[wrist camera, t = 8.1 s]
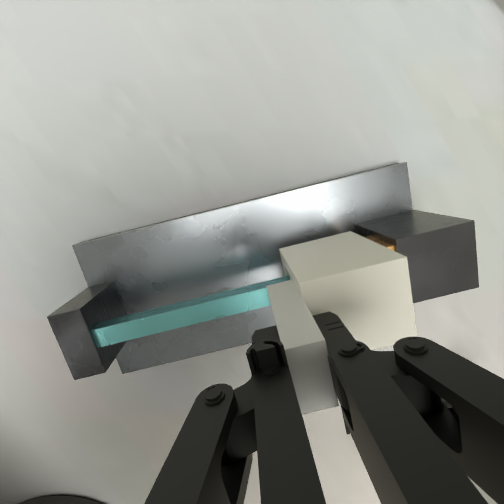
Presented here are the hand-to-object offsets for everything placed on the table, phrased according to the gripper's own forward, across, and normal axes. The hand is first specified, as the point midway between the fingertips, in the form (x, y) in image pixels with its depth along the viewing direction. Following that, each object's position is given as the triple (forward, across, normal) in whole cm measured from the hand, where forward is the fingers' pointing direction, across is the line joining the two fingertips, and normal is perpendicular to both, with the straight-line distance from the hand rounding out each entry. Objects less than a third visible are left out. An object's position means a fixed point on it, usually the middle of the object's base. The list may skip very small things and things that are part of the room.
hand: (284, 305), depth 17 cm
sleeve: (+5, +3, 0) cm, 6 cm away
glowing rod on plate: (+8, -1, 0) cm, 8 cm away
